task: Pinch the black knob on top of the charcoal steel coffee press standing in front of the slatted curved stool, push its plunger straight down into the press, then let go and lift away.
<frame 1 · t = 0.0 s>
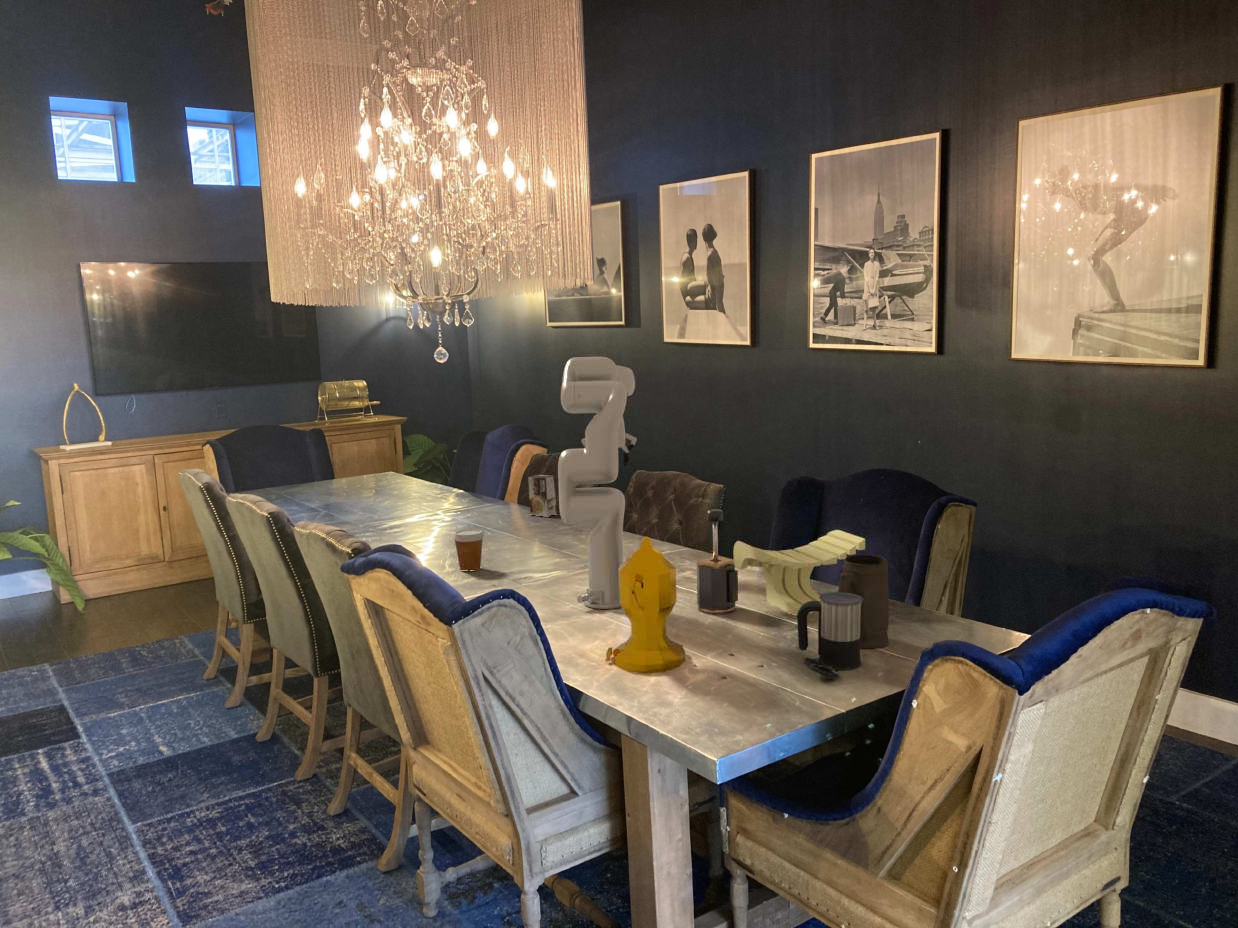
hand: (609, 465, 300), 31 cm above the table, tool pointing down, fingers open, 9 cm apart
glass of beer: (470, 570, 301), on the table
plunger: (715, 539, 249), point 19 cm above the table, slide at 0.0 cm
coffee box: (543, 515, 386), on the table
milk frother: (832, 669, 206), on the table
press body: (716, 608, 252), on the table
slatted curved stool: (798, 605, 254), on the table
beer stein: (860, 644, 221), on the table
yellow tall piece: (644, 660, 215), on the table
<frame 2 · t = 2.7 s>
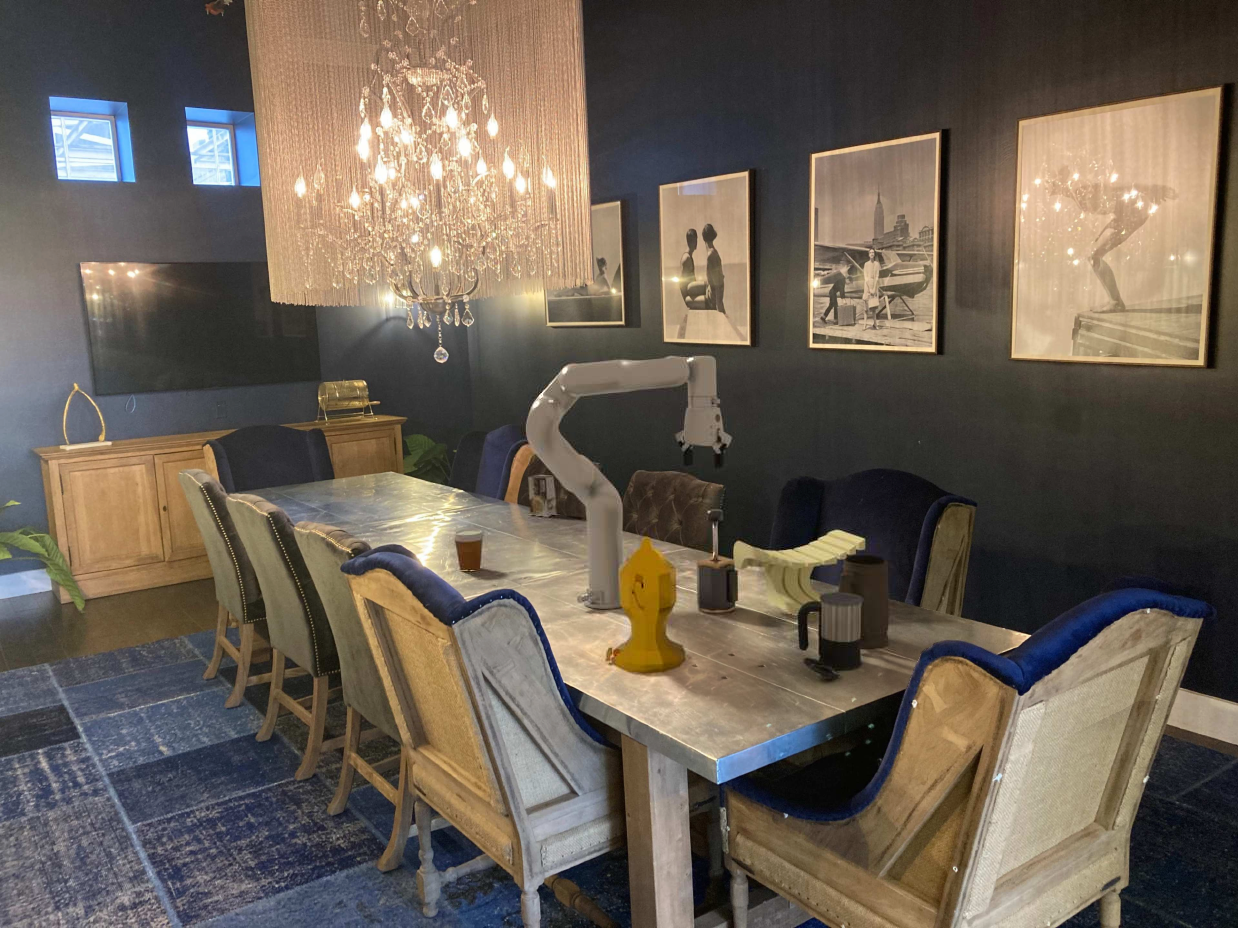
hand: (703, 466, 257), 36 cm above the table, tool pointing down, fingers open, 9 cm apart
nothing on the table moved.
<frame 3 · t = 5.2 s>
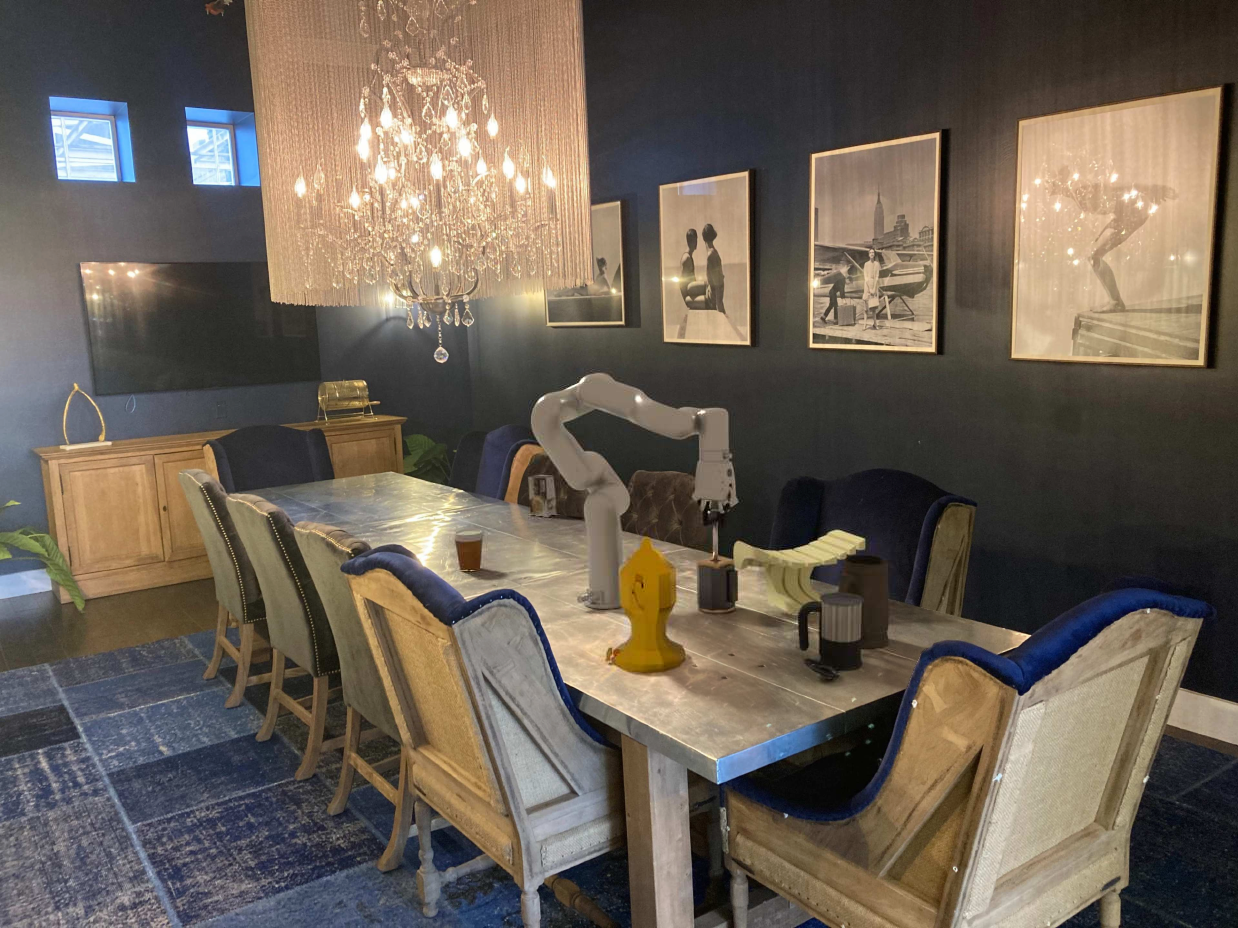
hand: (715, 525, 249), 22 cm above the table, tool pointing down, fingers closed on plunger, 4 cm apart
plunger: (715, 539, 249), point 19 cm above the table, slide at 0.0 cm, touching gripper
everything else where it was.
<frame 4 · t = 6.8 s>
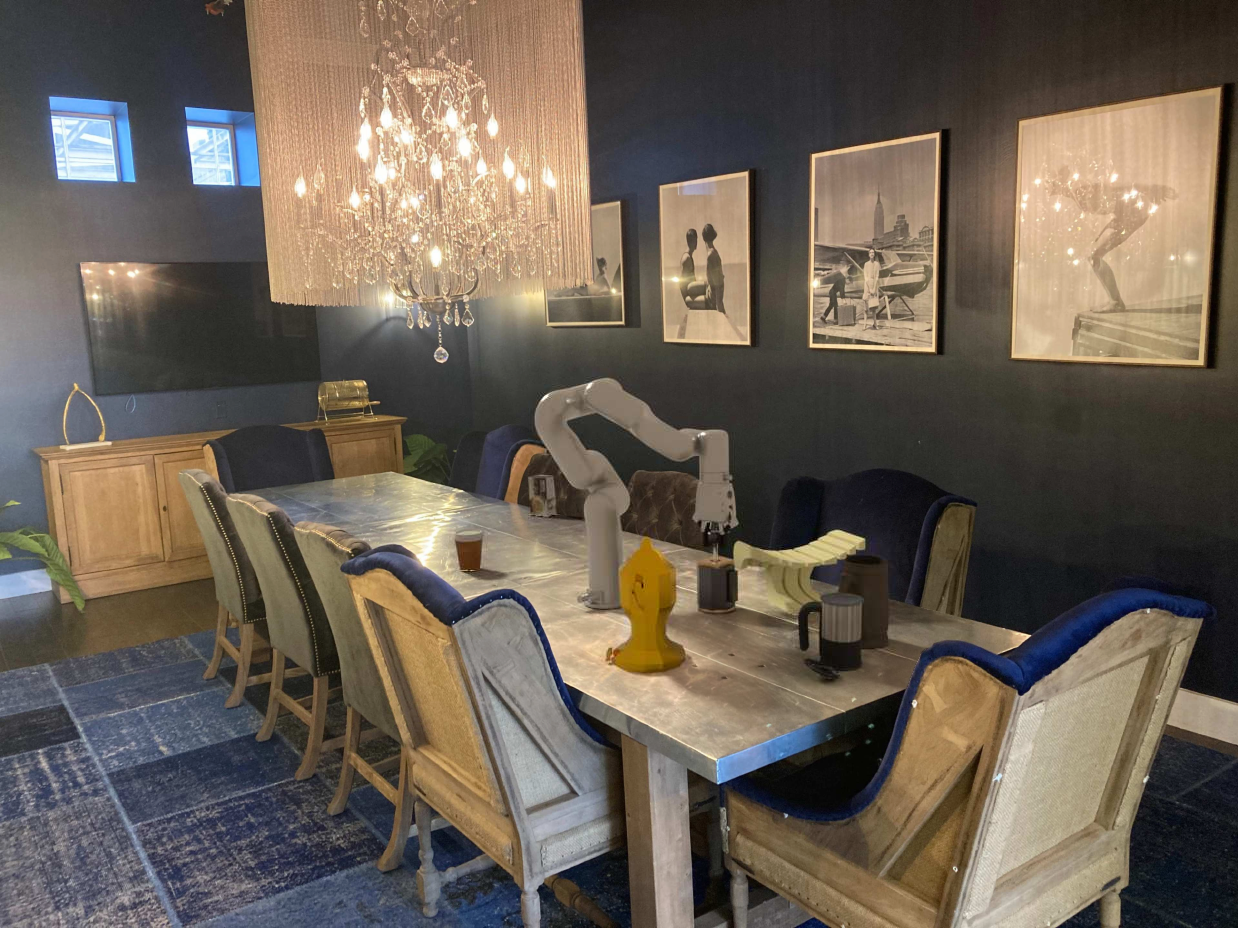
hand: (715, 546, 250), 17 cm above the table, tool pointing down, fingers closed on plunger, 4 cm apart
plunger: (715, 560, 250), point 13 cm above the table, slide at 5.6 cm, touching gripper
everything else where it was.
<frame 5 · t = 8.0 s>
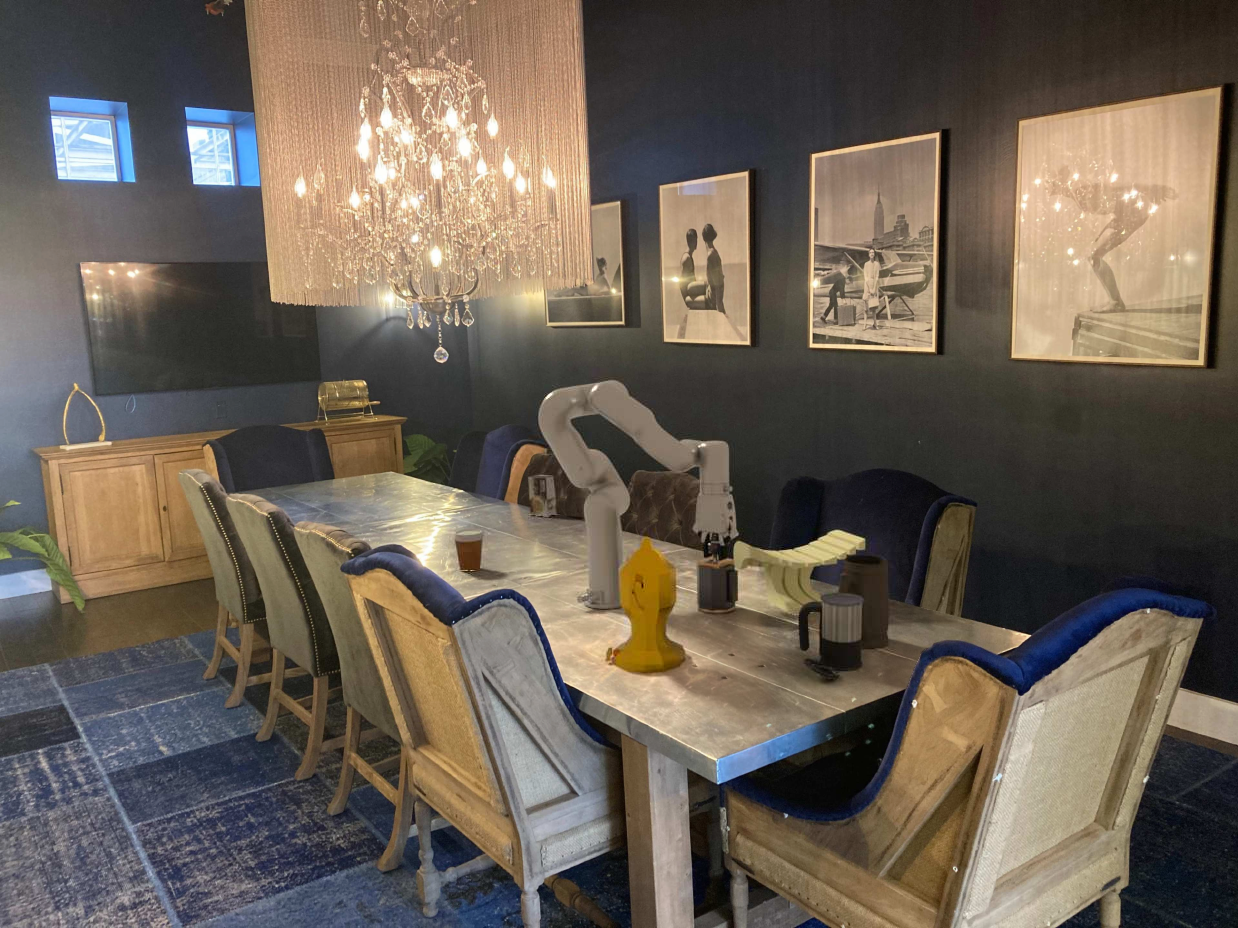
hand: (715, 557, 250), 14 cm above the table, tool pointing down, fingers closed on plunger, 4 cm apart
plunger: (715, 571, 250), point 10 cm above the table, slide at 8.5 cm, touching gripper
everything else where it was.
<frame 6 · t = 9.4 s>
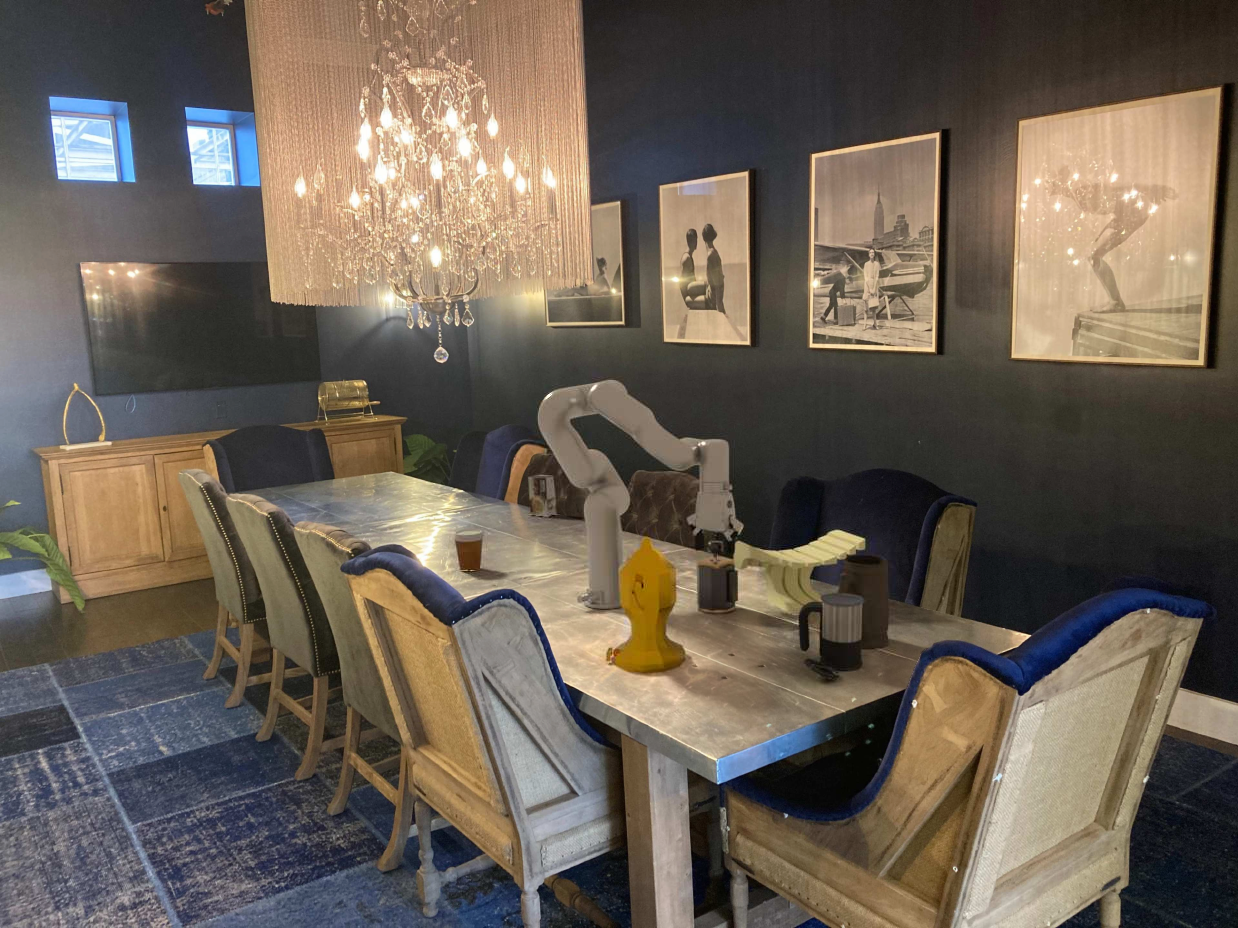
hand: (714, 552, 250), 15 cm above the table, tool pointing down, fingers open, 9 cm apart
plunger: (715, 570, 250), point 10 cm above the table, slide at 8.3 cm
everything else where it was.
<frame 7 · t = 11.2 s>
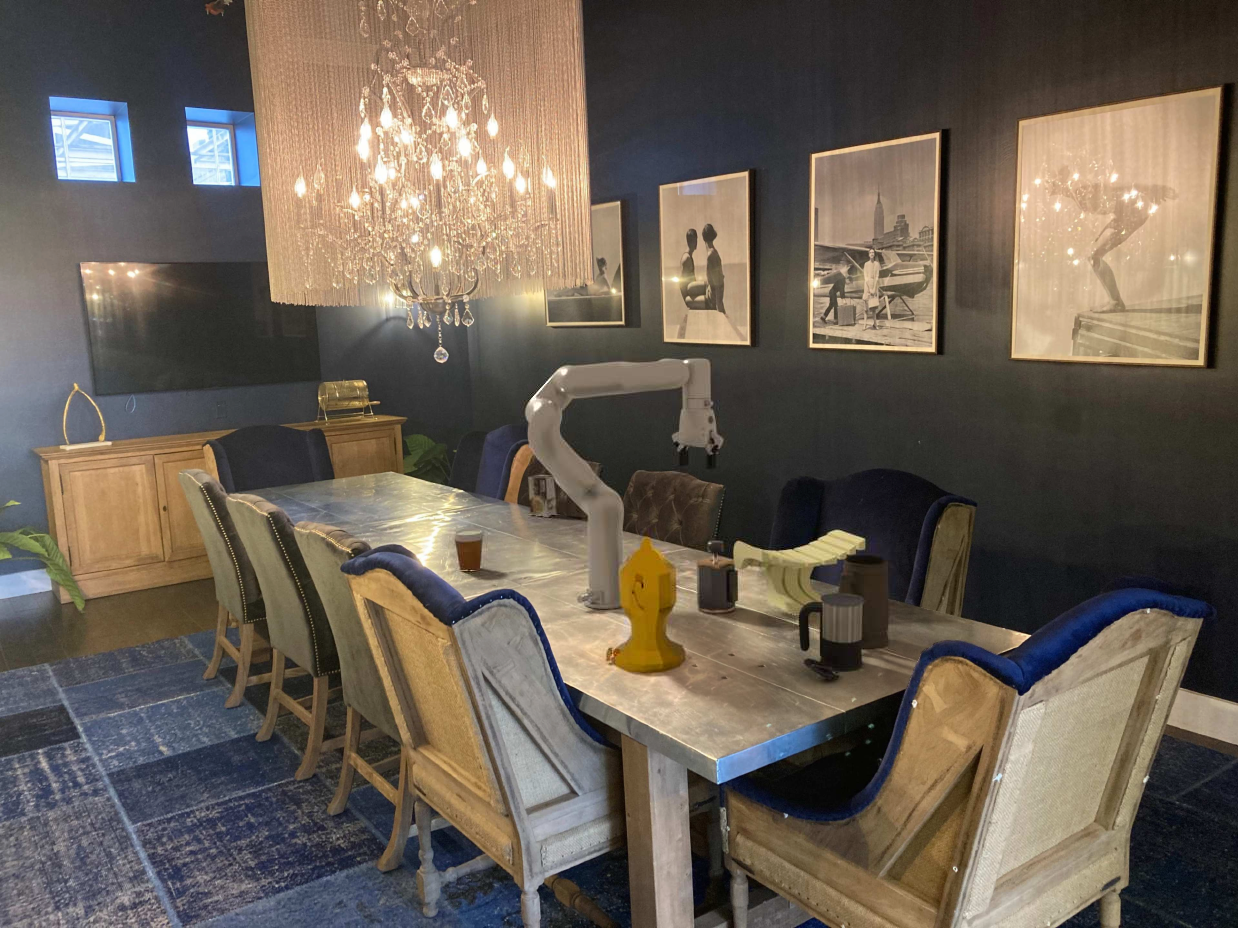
hand: (697, 467, 261), 36 cm above the table, tool pointing down, fingers open, 9 cm apart
nothing on the table moved.
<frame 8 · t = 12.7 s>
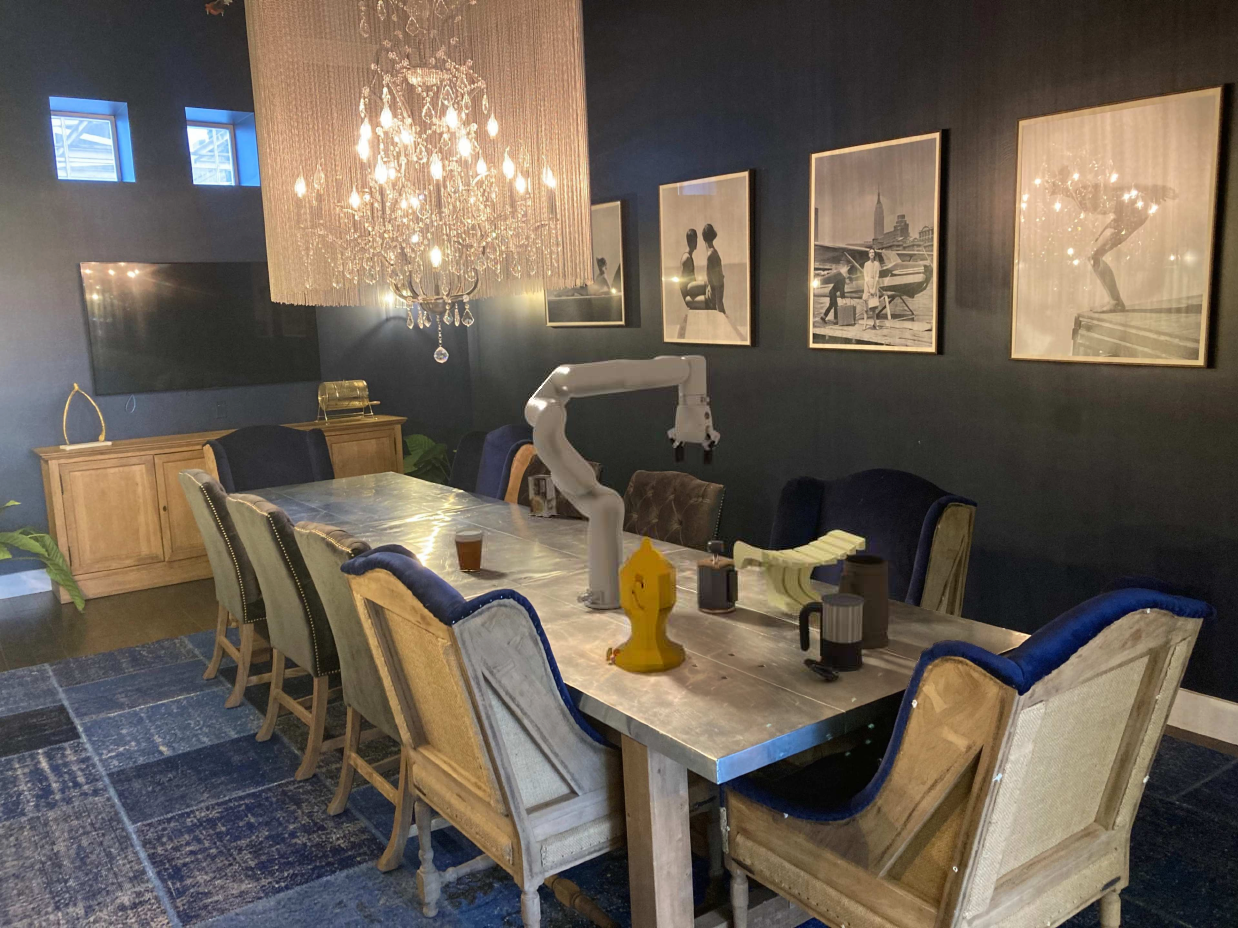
hand: (693, 462, 265), 36 cm above the table, tool pointing down, fingers open, 9 cm apart
nothing on the table moved.
at the end: plunger slide at 8.3 cm; the gripper is holding nothing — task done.
